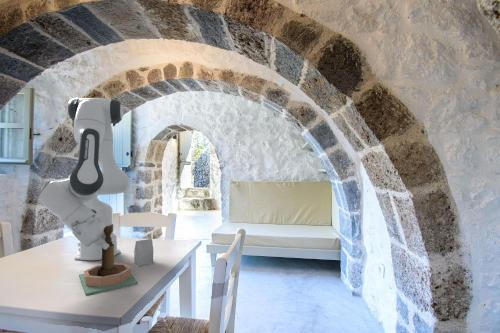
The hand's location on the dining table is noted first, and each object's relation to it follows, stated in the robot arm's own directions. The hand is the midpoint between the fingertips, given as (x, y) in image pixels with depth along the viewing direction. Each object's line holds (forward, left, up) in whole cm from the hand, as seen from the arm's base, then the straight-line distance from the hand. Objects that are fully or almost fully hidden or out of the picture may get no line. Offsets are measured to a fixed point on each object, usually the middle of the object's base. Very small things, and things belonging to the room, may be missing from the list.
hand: (109, 245), depth 104 cm
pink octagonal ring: (0, -1, -12) cm, 12 cm away
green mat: (0, -1, -12) cm, 12 cm away
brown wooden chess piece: (0, -1, -11) cm, 11 cm away
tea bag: (-11, +15, -13) cm, 23 cm away
